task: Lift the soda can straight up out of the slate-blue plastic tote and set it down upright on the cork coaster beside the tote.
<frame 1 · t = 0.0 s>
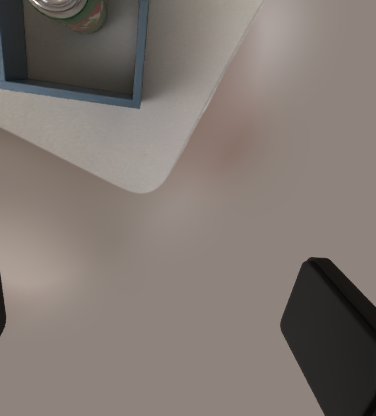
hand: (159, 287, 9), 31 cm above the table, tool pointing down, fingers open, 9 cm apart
tote: (83, 6, 31), on the table
soda can: (83, 7, 31), resting in tote
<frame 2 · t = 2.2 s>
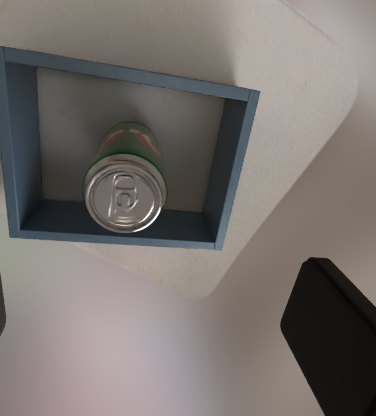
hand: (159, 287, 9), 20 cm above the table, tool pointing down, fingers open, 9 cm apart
tote: (131, 148, 27), on the table
soda can: (131, 148, 28), resting in tote
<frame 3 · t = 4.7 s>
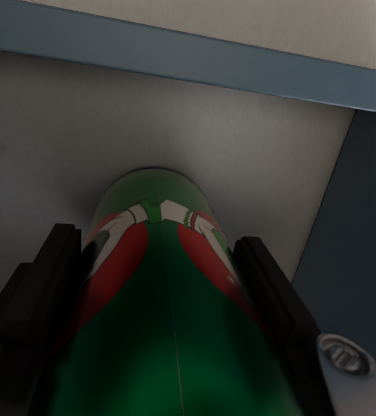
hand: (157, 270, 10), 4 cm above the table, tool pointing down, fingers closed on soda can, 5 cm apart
tote: (154, 217, 13), on the table
soda can: (154, 215, 14), resting in tote, touching gripper
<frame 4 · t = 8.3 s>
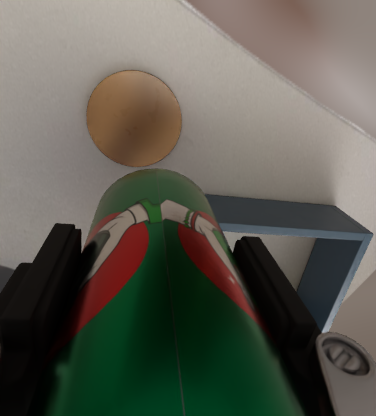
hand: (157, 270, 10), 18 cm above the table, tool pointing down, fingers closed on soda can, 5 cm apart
coaster: (135, 121, 25), on the table
tote: (244, 254, 33), on the table
soda can: (154, 215, 14), point 14 cm above the table, touching gripper
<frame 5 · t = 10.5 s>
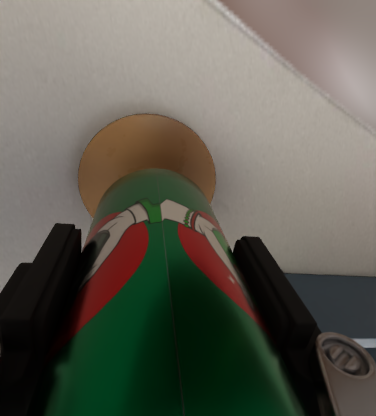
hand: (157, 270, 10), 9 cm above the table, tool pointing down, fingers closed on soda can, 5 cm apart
coaster: (149, 182, 18), on the table
tote: (285, 338, 25), on the table
soda can: (154, 215, 14), point 4 cm above the table, touching gripper
when the fingers open (4 cm above the table, at t = 12.1 s): soda can stays where it is, resting on coaster.
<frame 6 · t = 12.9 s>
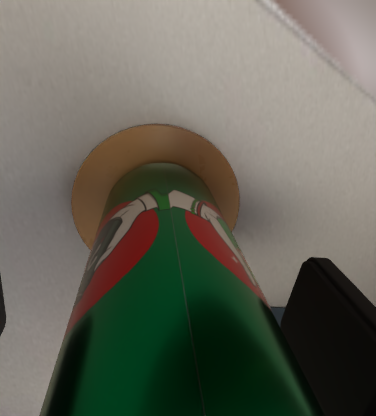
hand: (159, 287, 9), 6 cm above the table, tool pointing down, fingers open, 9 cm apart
coaster: (158, 207, 14), on the table
soda can: (160, 208, 14), resting on coaster
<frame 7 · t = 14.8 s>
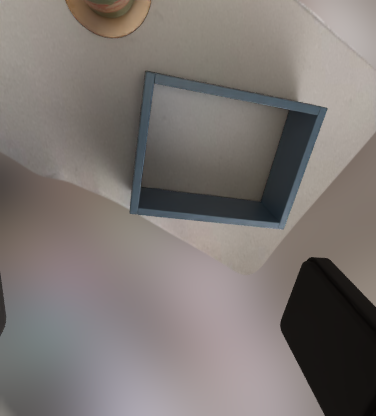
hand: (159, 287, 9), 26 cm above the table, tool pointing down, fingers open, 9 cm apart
tote: (212, 148, 35), on the table
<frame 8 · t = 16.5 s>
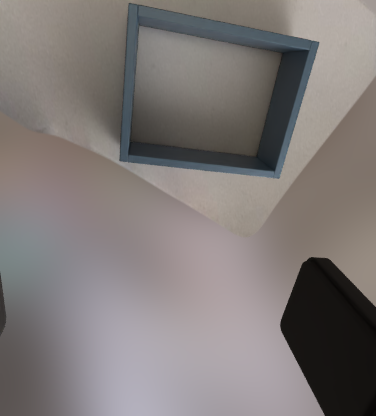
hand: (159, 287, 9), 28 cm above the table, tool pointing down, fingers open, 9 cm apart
tote: (204, 98, 34), on the table
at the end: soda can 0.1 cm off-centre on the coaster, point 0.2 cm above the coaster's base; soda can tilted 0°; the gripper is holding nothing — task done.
